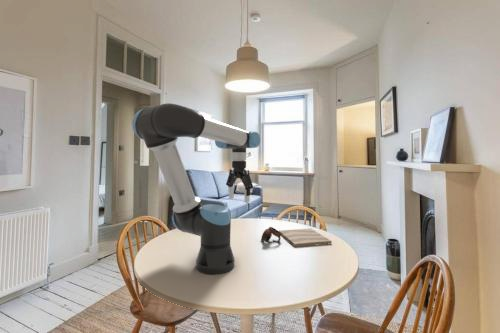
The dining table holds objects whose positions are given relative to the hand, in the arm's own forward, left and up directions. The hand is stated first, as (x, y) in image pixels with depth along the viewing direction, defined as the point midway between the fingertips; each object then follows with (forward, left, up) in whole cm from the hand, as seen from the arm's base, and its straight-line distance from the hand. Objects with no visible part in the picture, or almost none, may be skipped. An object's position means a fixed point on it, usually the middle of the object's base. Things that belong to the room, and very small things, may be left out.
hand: (238, 200), depth 127 cm
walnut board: (-8, -34, -20) cm, 40 cm away
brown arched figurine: (-9, -15, -21) cm, 27 cm away
